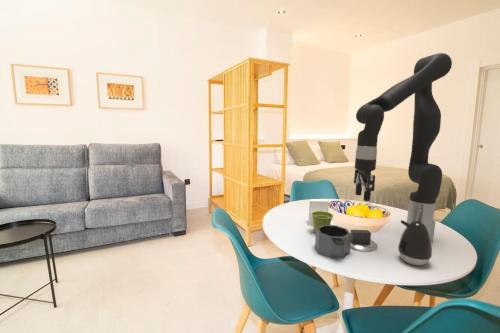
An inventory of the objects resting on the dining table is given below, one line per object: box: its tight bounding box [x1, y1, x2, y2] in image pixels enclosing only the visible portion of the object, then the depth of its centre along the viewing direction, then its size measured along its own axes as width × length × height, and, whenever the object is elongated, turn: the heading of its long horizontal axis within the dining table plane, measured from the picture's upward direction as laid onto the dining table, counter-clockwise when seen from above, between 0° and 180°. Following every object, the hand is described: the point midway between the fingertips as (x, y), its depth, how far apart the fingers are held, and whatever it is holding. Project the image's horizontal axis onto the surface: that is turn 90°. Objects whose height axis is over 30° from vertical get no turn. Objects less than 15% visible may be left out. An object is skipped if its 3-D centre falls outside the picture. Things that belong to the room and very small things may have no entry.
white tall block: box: [308, 198, 330, 227], centre depth 129 cm, size 9×9×12 cm
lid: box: [350, 229, 378, 253], centre depth 107 cm, size 13×13×6 cm
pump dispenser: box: [397, 219, 433, 266], centre depth 93 cm, size 10×10×15 cm
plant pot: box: [312, 211, 334, 234], centre depth 118 cm, size 9×9×9 cm
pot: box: [314, 224, 351, 259], centre depth 101 cm, size 12×17×8 cm
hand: (362, 197), depth 105 cm, fingers open, 8 cm apart
